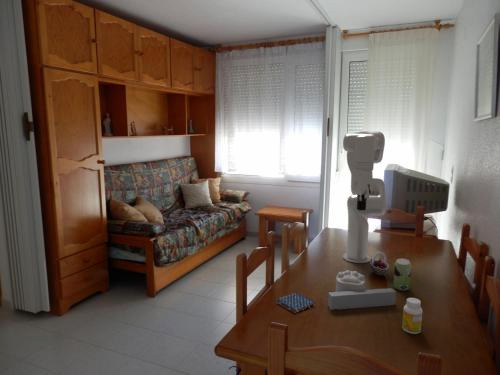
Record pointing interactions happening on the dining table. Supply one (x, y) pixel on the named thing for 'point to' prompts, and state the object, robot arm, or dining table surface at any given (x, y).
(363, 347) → the dining table surface
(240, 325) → the dining table surface
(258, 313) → the dining table surface
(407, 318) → the supplement bottle
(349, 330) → the dining table surface
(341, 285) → the lumpy-topped squat cylinder
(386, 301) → the grey long bar
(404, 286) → the beverage can
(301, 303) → the woven mat
